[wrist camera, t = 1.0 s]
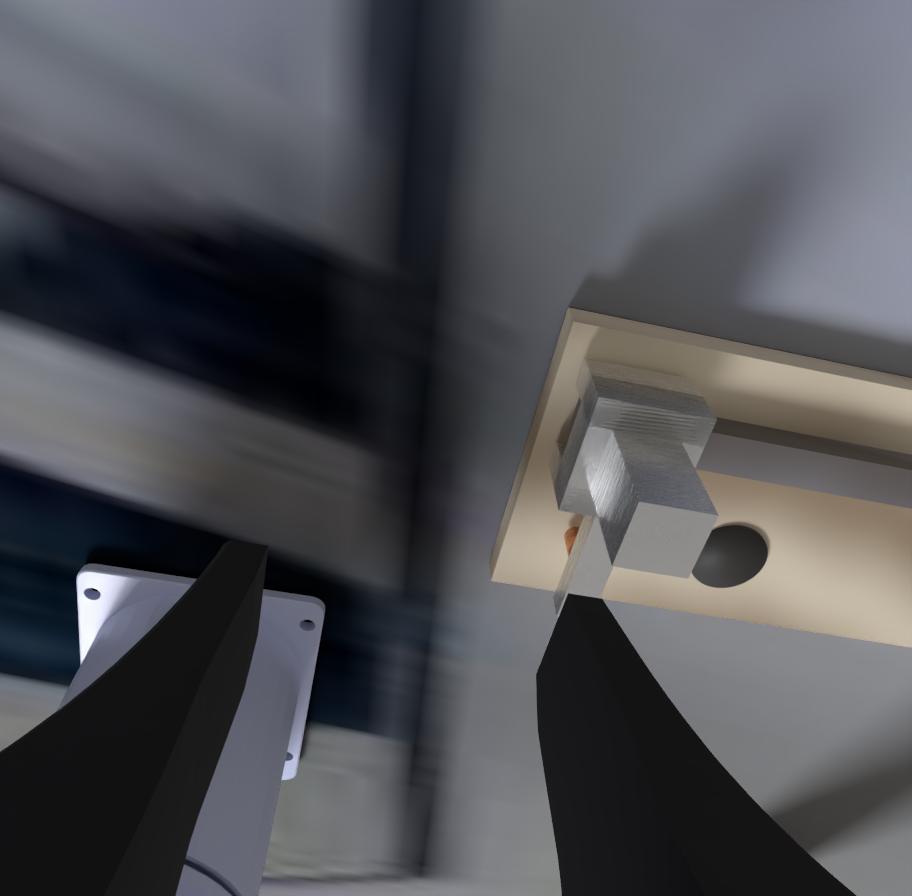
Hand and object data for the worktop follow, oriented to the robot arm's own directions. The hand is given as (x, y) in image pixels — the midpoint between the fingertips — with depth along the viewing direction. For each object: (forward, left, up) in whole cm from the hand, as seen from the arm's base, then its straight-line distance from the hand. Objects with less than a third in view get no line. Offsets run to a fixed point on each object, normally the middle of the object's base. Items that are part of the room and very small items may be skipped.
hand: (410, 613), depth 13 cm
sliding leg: (-2, -5, -9) cm, 10 cm away
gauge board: (-2, -13, -10) cm, 17 cm away
